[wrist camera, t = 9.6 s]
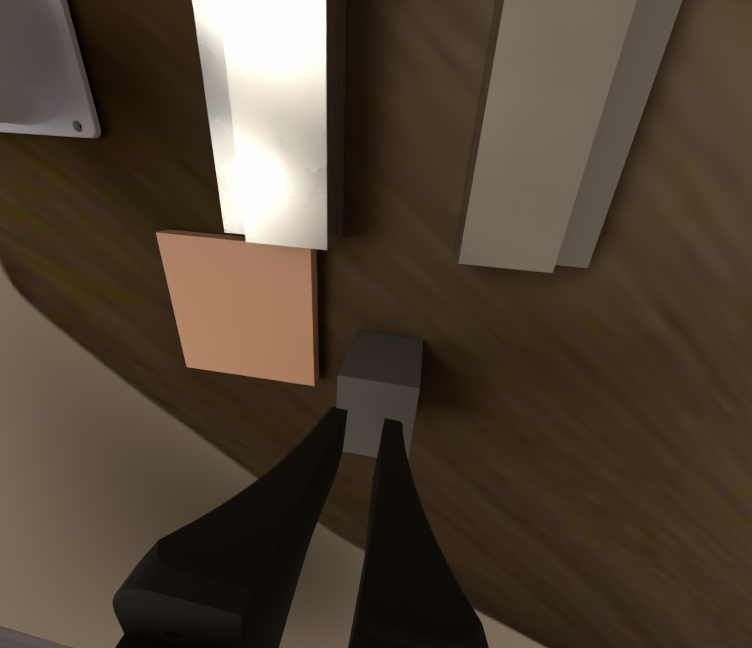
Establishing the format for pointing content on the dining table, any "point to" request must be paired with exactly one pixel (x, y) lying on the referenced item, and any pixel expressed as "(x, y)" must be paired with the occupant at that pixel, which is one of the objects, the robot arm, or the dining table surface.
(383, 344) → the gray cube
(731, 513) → the dining table surface
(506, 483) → the dining table surface
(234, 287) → the pad
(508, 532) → the dining table surface
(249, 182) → the parallel gray bars
